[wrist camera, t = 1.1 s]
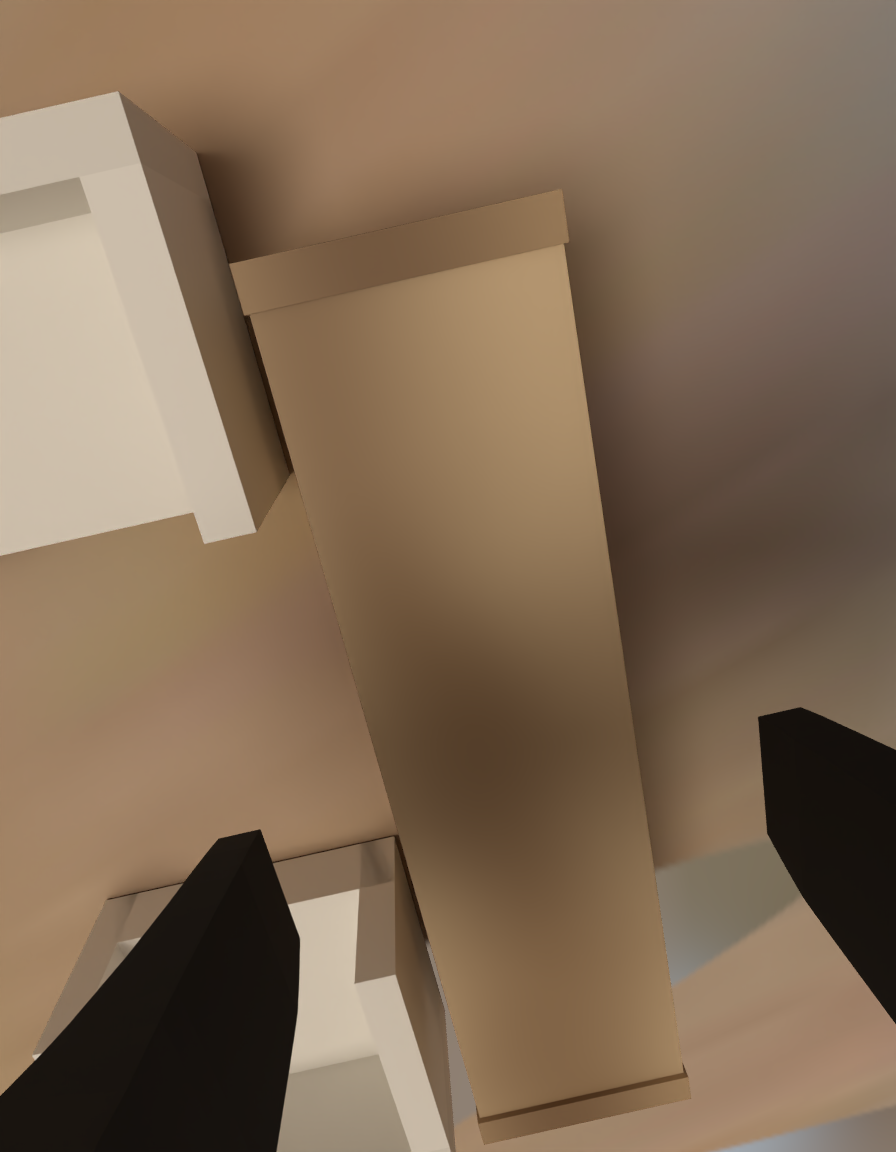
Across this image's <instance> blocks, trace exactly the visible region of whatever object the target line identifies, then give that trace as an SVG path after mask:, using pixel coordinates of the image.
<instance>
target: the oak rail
mask: <svg viewBox="0 0 896 1152" xmlns="http://www.w3.org/2000/svg"><path fill="white" fill-rule="evenodd" d="M568 242H569V235H568V228H567V221H566V214H565V207H564V200H563V193H562V189H559V190H554V191H550V192H546V193H541V194H537V195H532V196H528V197H523V198H519V199H515V200H510V201H506V202H501V203H497V204H492V205H488V206H484V207H479V208H475V209H470V210H466V211H461V212H457V213H453V214H448V215H444V216H439V217H435V218H430V219H426V220H422V221H417V222H413V223H408V224H404V225H400V226H395V227H391V228H386V229H382V230H377V231H373V232H369V233H364V234H360V235H355V236H351V237H346V238H342V239H338V240H333V241H329V242H324V243H320V244H315V245H311V246H307V247H302V248H298V249H293V250H289V251H284V252H280V253H276V254H271V255H267V256H262V257H258V258H253V259H249V260H245V261H240V262H236V263H231V264H229V265H230V269H231V272H232V275H233V279H234V282H235V286H236V289H237V293H238V296H239V300H240V303H241V307H242V310H243V313H244V316H245V315H250V318H251V322H252V325H253V329H254V332H255V336H256V339H257V343H258V346H259V350H260V353H261V357H262V360H263V363H264V367H265V370H266V374H267V377H268V381H269V384H270V388H271V391H272V395H273V398H274V402H275V405H276V409H277V412H278V416H279V419H280V423H281V426H282V430H283V433H284V437H285V440H286V444H287V447H288V451H289V454H290V458H291V461H292V465H293V468H294V472H295V475H296V478H297V482H298V485H299V489H300V492H301V496H302V499H303V503H304V506H305V510H306V513H307V517H308V520H309V524H310V527H311V531H312V534H313V538H314V541H315V545H316V548H317V552H318V555H319V559H320V562H321V566H322V569H323V573H324V576H325V580H326V583H327V587H328V590H329V594H330V597H331V600H332V604H333V607H334V611H335V614H336V618H337V621H338V625H339V628H340V632H341V635H342V639H343V642H344V646H345V649H346V653H347V656H348V660H349V663H350V667H351V670H352V674H353V677H354V681H355V684H356V688H357V691H358V695H359V698H360V702H361V705H362V709H363V712H364V716H365V719H366V722H367V726H368V729H369V733H370V736H371V740H372V743H373V747H374V750H375V754H376V757H377V761H378V764H379V768H380V771H381V775H382V778H383V782H384V785H385V789H386V792H387V796H388V799H389V803H390V806H391V810H392V813H393V817H394V820H395V824H396V827H397V831H398V834H399V837H400V841H401V844H402V848H403V851H404V855H405V858H406V862H407V865H408V869H409V872H410V876H411V879H412V883H413V886H414V890H415V893H416V897H417V900H418V904H419V907H420V911H421V914H422V918H423V921H424V925H425V928H426V932H427V935H428V939H429V942H430V946H431V949H432V953H433V956H434V959H435V963H436V966H437V970H438V973H439V977H440V980H441V984H442V987H443V991H444V994H445V998H446V1001H447V1005H448V1008H449V1011H450V1015H451V1019H452V1022H453V1026H454V1029H455V1033H456V1036H457V1039H458V1043H459V1047H460V1050H461V1054H462V1057H463V1061H464V1064H465V1068H466V1071H467V1074H468V1078H469V1081H470V1085H471V1088H472V1091H473V1095H474V1099H475V1102H476V1110H477V1119H478V1126H479V1129H480V1132H481V1136H482V1139H483V1143H484V1145H485V1144H490V1143H494V1142H499V1141H503V1140H508V1139H512V1138H517V1137H521V1136H526V1135H530V1134H535V1133H539V1132H544V1131H548V1130H553V1129H557V1128H561V1127H566V1126H570V1125H575V1124H579V1123H584V1122H588V1121H593V1120H597V1119H602V1118H606V1117H611V1116H615V1115H620V1114H624V1113H629V1112H633V1111H638V1110H642V1109H647V1108H651V1107H655V1106H660V1105H664V1104H669V1103H673V1102H678V1101H682V1100H687V1099H691V1094H690V1087H689V1080H688V1076H687V1073H686V1070H685V1068H684V1065H683V1063H682V1058H681V1051H680V1044H679V1037H678V1030H677V1023H676V1016H675V1009H674V1002H673V996H672V989H671V982H670V976H669V968H668V961H667V954H666V948H665V941H664V933H663V926H662V919H661V913H660V906H659V899H658V892H657V885H656V878H655V871H654V864H653V857H652V850H651V843H650V836H649V830H648V823H647V816H646V809H645V802H644V795H643V788H642V781H641V774H640V767H639V760H638V753H637V747H636V740H635V733H634V726H633V719H632V712H631V705H630V698H629V691H628V684H627V677H626V670H625V664H624V657H623V650H622V643H621V636H620V629H619V622H618V615H617V608H616V601H615V594H614V587H613V581H612V574H611V567H610V560H609V553H608V546H607V539H606V532H605V525H604V518H603V511H602V504H601V498H600V491H599V484H598V477H597V470H596V463H595V456H594V449H593V442H592V435H591V428H590V421H589V415H588V408H587V401H586V394H585V387H584V380H583V373H582V366H581V359H580V352H579V345H578V338H577V332H576V325H575V318H574V311H573V304H572V297H571V290H570V283H569V276H568V269H567V262H566V255H565V249H564V244H565V243H568Z"/></svg>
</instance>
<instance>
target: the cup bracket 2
mask: <svg viewBox="0 0 896 1152" xmlns="http://www.w3.org/2000/svg"><path fill="white" fill-rule="evenodd" d="M273 865H274V868H275V871H276V874H277V876H278V879H279V882H280V885H281V887H282V890H283V893H284V896H285V898H286V901H287V904H288V907H289V909H290V912H291V915H292V918H293V920H294V923H295V926H296V929H297V931H298V934H299V937H300V974H299V998H298V1015H297V1022H296V1029H295V1036H294V1043H293V1049H292V1056H291V1063H290V1069H289V1076H288V1082H287V1089H286V1095H285V1101H284V1108H283V1114H282V1120H281V1127H280V1133H279V1139H278V1146H277V1152H456V1150H455V1137H454V1124H453V1111H452V1099H451V1086H450V1073H449V1060H448V1047H447V1034H446V1021H445V1010H444V1006H443V1003H442V999H441V996H440V992H439V989H438V985H437V982H436V978H435V975H434V972H433V968H432V965H431V961H430V958H429V954H428V951H427V947H426V944H425V940H424V937H423V934H422V930H421V927H420V923H419V920H418V916H417V913H416V909H415V906H414V903H413V899H412V896H411V892H410V889H409V885H408V882H407V878H406V875H405V871H404V868H403V865H402V861H401V858H400V854H399V851H398V847H397V844H396V840H395V837H394V836H393V837H389V838H384V839H380V840H375V841H371V842H366V843H362V844H357V845H353V846H348V847H344V848H339V849H335V850H330V851H326V852H321V853H317V854H312V855H308V856H303V857H299V858H294V859H290V860H285V861H281V862H276V863H273ZM182 885H183V883H182V884H178V885H173V886H169V887H164V888H160V889H155V890H151V891H146V892H142V893H137V894H133V895H128V896H124V897H119V898H115V899H110V900H106V901H105V903H104V905H103V908H102V910H101V912H100V914H99V916H98V918H97V920H96V922H95V924H94V926H93V929H92V931H91V933H90V935H89V937H88V939H87V941H86V943H85V945H84V947H83V950H82V952H81V954H80V956H79V958H78V960H77V962H76V964H75V966H74V968H73V971H72V973H71V975H70V977H69V979H68V981H67V983H66V985H65V987H64V989H63V992H62V994H61V996H60V998H59V1000H58V1002H57V1004H56V1006H55V1008H54V1010H53V1013H52V1015H51V1017H50V1019H49V1021H48V1023H47V1025H46V1027H45V1029H44V1031H43V1034H42V1036H41V1038H40V1040H39V1042H38V1044H37V1046H36V1048H35V1050H34V1052H33V1055H32V1056H33V1058H34V1060H36V1059H37V1058H38V1057H39V1056H40V1055H41V1054H42V1053H43V1052H44V1051H45V1049H46V1048H47V1047H48V1046H49V1045H50V1044H51V1043H52V1042H53V1041H54V1040H55V1039H56V1038H57V1036H58V1035H59V1034H60V1033H61V1032H62V1031H63V1030H64V1029H65V1028H66V1027H67V1025H68V1024H69V1023H70V1022H71V1021H72V1020H73V1019H74V1017H75V1016H76V1015H77V1014H78V1013H79V1011H80V1010H81V1009H82V1008H83V1007H84V1006H85V1004H86V1003H87V1002H88V1001H89V1000H90V999H91V997H92V996H93V995H94V994H95V993H96V992H97V990H98V989H99V988H100V987H101V986H102V984H103V983H104V982H105V981H106V980H107V979H108V977H109V976H110V975H111V974H112V973H113V972H114V970H115V969H116V968H117V967H118V966H119V965H120V963H121V962H122V961H123V960H124V959H125V957H126V956H127V955H128V954H129V953H130V951H131V950H132V949H133V947H134V946H135V945H136V944H137V942H138V941H139V940H140V939H141V937H142V936H143V935H144V933H145V932H146V931H147V930H148V928H149V927H150V926H151V925H152V923H153V922H154V921H155V919H156V918H157V917H158V916H159V914H160V913H161V912H162V911H163V909H164V908H165V907H166V905H167V904H168V903H169V902H170V900H171V899H172V898H173V896H174V895H175V894H176V892H177V891H178V890H179V888H180V887H181V886H182Z"/></svg>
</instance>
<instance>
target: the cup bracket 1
mask: <svg viewBox="0 0 896 1152" xmlns="http://www.w3.org/2000/svg"><path fill="white" fill-rule="evenodd" d="M289 476H290V474H289V471H288V468H287V464H286V461H285V457H284V454H283V450H282V447H281V443H280V440H279V436H278V433H277V430H276V426H275V423H274V419H273V416H272V412H271V409H270V405H269V402H268V398H267V395H266V392H265V388H264V385H263V381H262V378H261V374H260V371H259V367H258V364H257V361H256V357H255V354H254V350H253V347H252V343H251V340H250V336H249V333H248V329H247V326H246V323H245V319H244V316H243V312H242V309H241V305H240V302H239V298H238V295H237V291H236V288H235V285H234V281H233V278H232V274H231V271H230V267H229V264H228V260H227V257H226V254H225V250H224V247H223V243H222V240H221V236H220V233H219V229H218V226H217V222H216V219H215V216H214V212H213V209H212V205H211V202H210V198H209V195H208V191H207V188H206V184H205V181H204V178H203V174H202V171H201V167H200V164H199V160H198V157H197V153H196V152H195V151H194V150H193V149H191V148H190V147H189V146H188V145H186V144H185V143H184V142H182V141H181V140H180V139H179V138H177V137H176V136H175V135H174V134H172V133H171V132H170V131H168V130H167V129H166V128H165V127H163V126H162V125H161V124H159V123H158V122H157V121H156V120H154V119H153V118H152V117H150V116H149V115H148V114H147V113H145V112H144V111H143V110H142V109H140V108H139V107H138V106H136V105H135V104H134V103H133V102H131V101H130V100H129V99H127V98H126V97H125V96H124V95H122V94H121V93H120V92H119V91H117V92H113V93H108V94H104V95H100V96H95V97H91V98H86V99H82V100H78V101H73V102H69V103H64V104H60V105H56V106H51V107H47V108H42V109H38V110H34V111H29V112H25V113H20V114H16V115H12V116H7V117H3V118H0V556H1V555H6V554H10V553H15V552H19V551H23V550H28V549H32V548H37V547H41V546H46V545H50V544H55V543H59V542H63V541H68V540H72V539H77V538H81V537H86V536H90V535H95V534H99V533H103V532H108V531H112V530H117V529H121V528H126V527H130V526H135V525H139V524H143V523H148V522H152V521H157V520H161V519H166V518H170V517H175V516H179V515H184V514H188V513H192V512H194V515H195V518H196V521H197V524H198V527H199V530H200V532H201V535H202V538H203V541H204V544H206V543H210V542H215V541H219V540H223V539H228V538H232V537H237V536H241V535H246V534H250V533H255V532H257V530H258V529H259V527H260V525H261V524H262V522H263V520H264V518H265V517H266V515H267V513H268V512H269V510H270V508H271V506H272V505H273V503H274V501H275V500H276V498H277V496H278V495H279V493H280V491H281V489H282V488H283V486H284V484H285V483H286V481H287V479H288V477H289Z"/></svg>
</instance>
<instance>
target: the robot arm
mask: <svg viewBox="0 0 896 1152" xmlns="http://www.w3.org/2000/svg"><path fill="white" fill-rule="evenodd" d="M758 721H759V733H760V746H761V759H762V772H763V785H764V797H765V810H766V823H767V834H768V836H769V837H770V839H771V841H772V843H773V845H774V847H775V848H776V850H777V852H778V854H779V856H780V857H781V859H782V861H783V863H784V865H785V867H786V869H787V870H788V872H789V874H790V875H791V877H792V879H793V881H794V882H795V884H796V886H797V888H798V889H799V891H800V893H801V894H802V896H803V898H804V899H805V901H806V902H807V904H808V905H809V906H810V908H811V909H812V911H813V912H814V913H815V915H816V916H817V918H818V919H819V920H820V922H821V923H822V924H823V926H824V927H825V929H826V930H827V931H828V933H829V934H830V935H831V937H832V938H833V940H834V941H835V942H836V944H837V945H838V946H839V948H840V949H841V950H842V952H843V953H844V955H845V956H846V957H847V959H848V960H849V961H850V963H851V964H852V965H853V967H854V968H855V969H856V971H857V972H858V973H859V975H860V976H861V978H862V979H863V980H864V982H865V983H866V984H867V986H868V987H869V988H870V990H871V991H872V992H873V994H874V995H875V996H876V998H877V999H878V1001H879V1002H880V1003H881V1005H882V1006H883V1007H884V1009H885V1010H886V1011H887V1013H888V1014H889V1015H890V1017H891V1018H892V1019H893V1021H894V1022H895V1024H896V750H895V749H892V748H890V747H888V746H886V745H884V744H882V743H880V742H877V741H875V740H873V739H871V738H869V737H867V736H864V735H862V734H860V733H858V732H856V731H854V730H851V729H849V728H847V727H845V726H843V725H841V724H838V723H836V722H834V721H832V720H830V719H827V718H825V717H823V716H821V715H818V714H816V713H814V712H811V711H809V710H806V709H804V708H801V707H799V708H795V709H791V710H786V711H782V712H777V713H773V714H769V715H764V716H760V717H758ZM299 974H300V937H299V934H298V931H297V929H296V926H295V923H294V920H293V918H292V915H291V912H290V909H289V907H288V904H287V901H286V898H285V896H284V893H283V890H282V887H281V885H280V882H279V879H278V876H277V874H276V871H275V868H274V865H273V863H272V860H271V857H270V854H269V852H268V849H267V846H266V843H265V841H264V838H263V835H262V832H261V830H255V831H251V832H246V833H242V834H238V835H233V836H229V837H224V838H220V839H218V840H217V841H216V842H215V844H214V845H213V846H212V847H211V848H210V850H209V851H208V852H207V853H206V855H205V856H204V857H203V858H202V860H201V861H200V862H199V864H198V865H197V866H196V867H195V869H194V870H193V871H192V873H191V874H190V875H189V877H188V878H187V879H186V881H185V882H184V883H183V885H182V886H181V887H180V888H179V890H178V891H177V892H176V894H175V895H174V896H173V898H172V899H171V900H170V902H169V903H168V904H167V905H166V907H165V908H164V909H163V911H162V912H161V913H160V914H159V916H158V917H157V918H156V919H155V921H154V922H153V923H152V925H151V926H150V927H149V928H148V930H147V931H146V932H145V933H144V935H143V936H142V937H141V939H140V940H139V941H138V942H137V944H136V945H135V946H134V947H133V949H132V950H131V951H130V953H129V954H128V955H127V956H126V957H125V959H124V960H123V961H122V962H121V963H120V965H119V966H118V967H117V968H116V969H115V970H114V972H113V973H112V974H111V975H110V976H109V977H108V979H107V980H106V981H105V982H104V983H103V984H102V986H101V987H100V988H99V989H98V990H97V992H96V993H95V994H94V995H93V996H92V997H91V999H90V1000H89V1001H88V1002H87V1003H86V1004H85V1006H84V1007H83V1008H82V1009H81V1010H80V1011H79V1013H78V1014H77V1015H76V1016H75V1017H74V1019H73V1020H72V1021H71V1022H70V1023H69V1024H68V1025H67V1027H66V1028H65V1029H64V1030H63V1031H62V1032H61V1033H60V1034H59V1035H58V1036H57V1038H56V1039H55V1040H54V1041H53V1042H52V1043H51V1044H50V1045H49V1046H48V1047H47V1048H46V1049H45V1051H44V1052H43V1053H42V1054H41V1055H40V1056H39V1057H38V1058H37V1059H36V1060H35V1061H34V1062H33V1063H32V1064H31V1065H30V1066H29V1067H28V1068H27V1069H26V1070H25V1071H24V1072H23V1074H22V1075H21V1076H20V1077H19V1078H18V1079H17V1080H16V1081H15V1082H14V1083H13V1084H12V1085H11V1086H10V1087H9V1088H8V1089H7V1090H6V1091H5V1092H4V1093H3V1094H2V1095H1V1096H0V1152H277V1146H278V1139H279V1133H280V1127H281V1120H282V1114H283V1108H284V1101H285V1095H286V1089H287V1082H288V1076H289V1069H290V1063H291V1056H292V1049H293V1043H294V1036H295V1029H296V1022H297V1015H298V998H299Z"/></svg>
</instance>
